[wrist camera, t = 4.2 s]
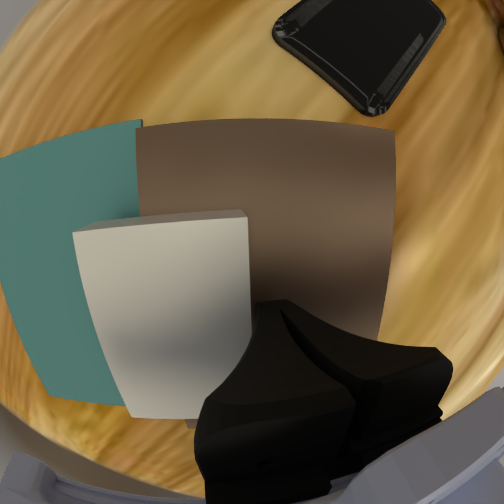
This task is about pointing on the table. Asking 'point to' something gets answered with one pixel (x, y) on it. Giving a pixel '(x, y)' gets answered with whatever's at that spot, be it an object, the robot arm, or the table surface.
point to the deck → (287, 205)
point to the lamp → (501, 37)
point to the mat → (63, 250)
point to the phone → (361, 44)
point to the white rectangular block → (168, 304)
